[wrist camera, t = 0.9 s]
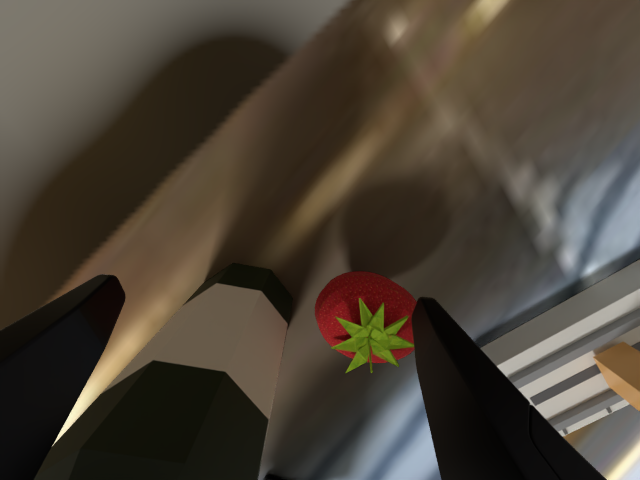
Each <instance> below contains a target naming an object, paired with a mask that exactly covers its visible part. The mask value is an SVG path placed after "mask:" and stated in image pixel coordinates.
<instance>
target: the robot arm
mask: <svg viewBox="0 0 640 480" xmlns="http://www.w3.org/2000/svg"><path fill="white" fill-rule="evenodd" d="M124 302H125V292H124V290H123V288H122V286H121V284H120V282H119V280H118V278H117V277H116V276H114V275H104V274H102V275H98V276H96V277H94V278H92V279H91V280H89V281H87V282H85V283H83V284H82V285H80V286H78V287H76V288H75V289H73V290H71V291H69V292H68V293H66V294H64V295H62V296H60V297H59V298H57V299H55V300H53V301H52V302H50V303H48V304H46V305H44V306H43V307H41V308H39V309H37V310H36V311H34V312H32V313H30V314H29V315H27V316H25V317H23V318H22V319H20V320H18V321H16V322H14V323H13V324H11V325H9V326H7V327H5V328H4V329H2V330H0V480H34V478H35V477H36V475H37V473H38V471H39V469H40V467H41V466H42V464H43V462H44V460H45V458H46V456H47V455H48V453H49V451H50V449H51V447H52V445H53V444H54V442H55V440H56V438H57V436H58V434H59V433H60V431H61V429H62V427H63V425H64V423H65V421H66V420H67V418H68V416H69V414H70V412H71V410H72V409H73V407H74V405H75V403H76V401H77V399H78V398H79V396H80V394H81V392H82V390H83V388H84V387H85V385H86V383H87V381H88V379H89V377H90V376H91V374H92V372H93V370H94V368H95V366H96V365H97V363H98V361H99V359H100V357H101V355H102V353H103V351H104V349H105V347H106V345H107V343H108V341H109V338H110V336H111V334H112V331H113V329H114V326H115V324H116V321H117V319H118V317H119V314H120V312H121V309H122V307H123V305H124ZM411 321H412V331H413V340H414V349H415V358H416V367H417V373H418V378H419V382H420V387H421V391H422V395H423V400H424V404H425V409H426V413H427V418H428V422H429V426H430V431H431V435H432V440H433V444H434V449H435V453H436V458H437V462H438V466H439V471H440V475H441V480H607V479H605V478H604V477H603V476H602V475H601V474H600V473H599V472H598V471H597V470H596V469H595V468H594V467H593V466H592V465H591V464H590V463H589V462H588V461H587V460H586V459H585V458H584V457H583V456H582V455H581V454H580V453H579V452H577V451H576V450H575V449H574V448H573V447H572V446H571V445H570V444H569V443H568V442H567V441H566V440H565V439H564V438H563V437H562V436H561V434H560V433H559V432H558V431H557V430H556V429H555V428H554V427H553V426H552V425H551V424H550V423H549V422H548V421H547V420H546V419H545V418H544V417H543V416H542V414H541V413H540V412H539V411H538V410H537V409H536V408H535V407H534V406H533V405H530V402H529V401H528V399H527V398H526V397H525V396H524V395H523V394H522V393H521V392H520V391H519V390H518V389H517V388H516V387H515V385H514V384H513V383H512V382H511V381H510V380H509V379H508V378H507V377H506V376H505V375H504V374H503V372H502V371H501V370H500V369H499V368H498V367H497V366H496V365H495V364H494V363H493V362H492V361H491V359H490V358H489V357H488V356H487V355H486V354H485V353H484V352H483V351H482V350H481V349H480V348H479V346H478V345H477V344H476V343H475V342H474V341H473V340H472V339H471V338H470V337H469V336H468V335H467V334H466V332H465V331H464V330H463V329H462V328H461V327H460V326H459V325H458V324H457V323H456V322H455V321H454V319H453V318H452V317H451V316H450V315H449V314H448V313H447V312H446V311H445V310H444V309H443V308H442V306H441V305H440V304H439V303H438V302H437V301H436V300H435V299H433V298H428V297H420V298H419V299H418V301H417V303H416V306H415V308H414V311H413V313H412V318H411ZM264 480H284V479H281V478H278V477H275V476H272V475H267V476H266V477H265V478H264Z"/></svg>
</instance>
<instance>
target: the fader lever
mask: <svg viewBox="0 0 640 480" xmlns="http://www.w3.org/2000/svg"><path fill="white" fill-rule="evenodd" d="M593 358H594V360H595V362H596V364H597V366H598V368H599V369H600V371H601V373H602V375H603V377H604V379H605V380H606V382H607V384H608V386H609V387H610V388H611V389H612V390H613V391H615V392H616V393H617V394H618V395H620V396H621V397H622V398H623V399H625V400H626V401H627V402H628V403H630V404H631V405H632V406H633V407H635V408H636V409H637V410H638V411H640V351H638V350H636V349H635V348H633V347H631V346H630V345H628V344H627V343H625V342H621V343H619V344H617V345H615V346H613V347H611V348H609V349H608V350H606V351H604V352H602V353H600V354H598V355H596V356H594V357H593Z"/></svg>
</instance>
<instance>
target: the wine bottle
mask: <svg viewBox="0 0 640 480" xmlns="http://www.w3.org/2000/svg"><path fill="white" fill-rule="evenodd" d="M292 300H293V298H292V297H291V295H290V294H289V293H288V291H287V290H286V289H285V288H284V286H283V285H282V284H281V282H280V281H279V280H278V278H277V277H276V276H275V275H274V273H273V272H272V271H271V270H269V269H264V268H258V267H253V266H247V265H241V264H236V263H232V264H231V265H229V266H228V267H226V268H225V269H223V270H222V271H220V272H219V273H217V274H216V275H215V276H213V277H212V278H210V279H209V280H207V281H206V282H204V283H203V284H202V285H201V286H200V287H199V288H198V290H197V291H196V292H195V293H194V294H193V295H192V296H191V297H190V298H189V299H188V300H187V301H186V303H185V304H184V305H183V306H182V307H181V308H180V309H179V310H178V311H177V312H176V313H175V314H174V315H173V317H172V318H171V319H170V320H169V321H168V322H167V323H166V324H165V325H164V326H163V327H162V328H161V330H160V331H159V332H158V333H157V334H156V335H155V336H154V337H153V338H152V339H151V340H150V341H149V342H148V344H147V345H146V346H145V347H144V348H143V349H142V350H141V351H140V352H139V353H138V354H137V355H136V357H135V358H134V359H133V360H132V361H131V362H130V363H129V364H128V365H127V366H126V367H125V368H124V369H123V371H122V372H121V373H120V374H119V375H118V376H117V377H116V378H115V379H114V380H113V381H112V382H111V384H110V385H109V386H108V387H107V388H106V389H105V390H104V391H103V392H102V393H101V394H100V395H99V397H98V398H97V399H96V400H95V401H94V402H93V403H92V404H91V405H90V406H89V407H88V408H87V409H86V411H85V412H84V413H83V414H82V415H81V416H80V417H79V418H78V419H77V420H76V421H75V422H74V424H73V425H72V426H71V427H70V428H69V429H68V430H67V431H66V432H65V433H64V434H63V435H62V436H61V438H60V439H59V440H58V441H57V442H56V443H55V444H54V445H53V446H52V447H51V449H50V451H49V453H48V455H47V456H46V458H45V460H44V462H43V464H42V466H41V467H40V469H39V471H38V473H37V475H36V477H35V478H34V480H258V476H259V471H260V466H261V461H262V456H263V451H264V446H265V441H266V435H267V430H268V425H269V420H270V415H271V410H272V405H273V400H274V395H275V389H276V384H277V379H278V374H279V369H280V364H281V359H282V354H283V348H284V343H285V338H286V333H287V328H288V322H289V317H290V311H291V306H292Z"/></svg>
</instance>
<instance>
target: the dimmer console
mask: <svg viewBox="0 0 640 480" xmlns="http://www.w3.org/2000/svg"><path fill="white" fill-rule="evenodd" d="M621 342H625V343H627V344H628V345H630V346H631V347H633V348H635V349H636V350H638V351H640V259H639V260H638V261H636V262H634V263H632V264H630V265H629V266H627V267H625V268H623V269H622V270H620V271H618V272H616V273H614V274H613V275H611V276H609V277H607V278H605V279H604V280H602V281H600V282H598V283H596V284H595V285H593V286H591V287H589V288H587V289H586V290H584V291H582V292H580V293H578V294H577V295H575V296H573V297H571V298H569V299H568V300H566V301H564V302H562V303H560V304H559V305H557V306H555V307H553V308H551V309H550V310H548V311H546V312H544V313H542V314H541V315H539V316H537V317H535V318H533V319H532V320H530V321H528V322H526V323H524V324H523V325H521V326H519V327H517V328H515V329H514V330H512V331H510V332H508V333H507V334H505V335H503V336H501V337H499V338H498V339H496V340H494V341H492V342H490V343H489V344H487V345H485V346H483V347H481V348H480V349H481V350H482V351H483V352H484V353H485V354H486V355H487V356H488V357H489V358H490V359H491V361H492V362H493V363H494V364H495V365H496V366H497V367H498V368H499V369H500V370H501V371H502V372H503V374H504V375H505V376H506V377H507V378H508V379H509V380H510V381H511V382H512V383H513V384H514V385H515V387H516V388H517V389H518V390H519V391H520V392H521V393H522V394H523V395H524V396H525V397H526V398H527V399H528V401H529V402H530V405H533V406H534V407H535V408H536V409H537V410H538V411H539V412H540V413H541V414H542V416H543V417H544V418H545V419H546V420H547V421H548V422H549V423H550V424H551V425H552V426H553V427H554V428H555V429H556V430H557V431H558V432H559V433H560V434H561V436H562V437H563V436H565V435H567V434H569V433H571V432H573V431H575V430H577V429H579V428H581V427H583V426H585V425H587V424H589V423H592V422H594V421H596V420H598V419H600V418H602V417H604V416H606V415H608V414H610V413H612V412H614V411H616V410H618V409H621V408H623V407H625V406H627V405H629V404H630V403H628V402H627V401H626V400H625V399H623V398H622V397H621V396H620V395H618V394H617V393H616V392H615V391H613V390H612V389H611V388H610V387H609V386H608V384H607V382H606V380H605V379H604V377H603V375H602V373H601V371H600V369H599V368H598V366H597V364H596V362H595V360H594V358H593V357H594V356H596V355H598V354H600V353H602V352H604V351H606V350H608V349H609V348H611V347H613V346H615V345H617V344H619V343H621Z"/></svg>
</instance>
